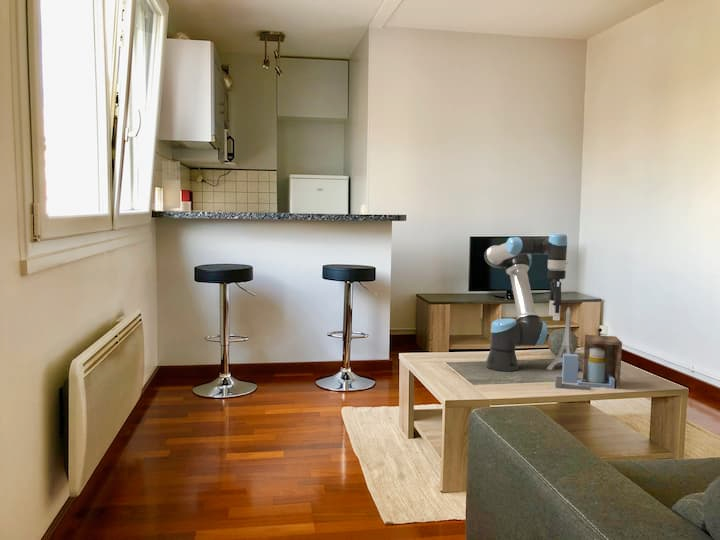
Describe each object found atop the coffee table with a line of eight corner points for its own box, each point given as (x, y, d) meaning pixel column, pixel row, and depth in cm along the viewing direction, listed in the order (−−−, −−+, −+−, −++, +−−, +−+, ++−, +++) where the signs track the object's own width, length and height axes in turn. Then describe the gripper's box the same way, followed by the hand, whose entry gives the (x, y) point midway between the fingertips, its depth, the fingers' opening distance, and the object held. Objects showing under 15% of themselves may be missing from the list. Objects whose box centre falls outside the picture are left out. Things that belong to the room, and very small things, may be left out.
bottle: (603, 381, 262) (605, 348, 260) (604, 386, 255) (606, 352, 254) (586, 380, 264) (588, 347, 263) (587, 384, 258) (589, 350, 256)
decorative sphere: (549, 359, 302) (550, 330, 301) (544, 352, 317) (546, 325, 315) (579, 360, 300) (581, 331, 298) (573, 354, 314) (575, 326, 313)
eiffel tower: (546, 369, 283) (549, 307, 280) (558, 364, 293) (561, 304, 290) (573, 374, 274) (576, 310, 271) (584, 369, 284) (588, 307, 281)
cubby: (587, 386, 254) (589, 340, 252) (582, 378, 266) (585, 334, 265) (619, 389, 251) (622, 342, 249) (613, 380, 264) (615, 336, 262)
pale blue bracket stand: (564, 384, 256) (565, 357, 255) (561, 378, 266) (562, 352, 265) (614, 388, 252) (615, 361, 251) (609, 382, 262) (611, 355, 261)
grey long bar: (555, 387, 251) (556, 376, 251) (555, 386, 254) (555, 375, 253) (590, 390, 248) (591, 379, 248) (589, 389, 251) (590, 377, 250)
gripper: (570, 272, 243) (567, 323, 245) (561, 267, 268) (559, 313, 270) (551, 271, 245) (548, 322, 247) (544, 266, 269) (542, 312, 271)
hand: (554, 317), depth 258 cm, fingers open, 13 cm apart
